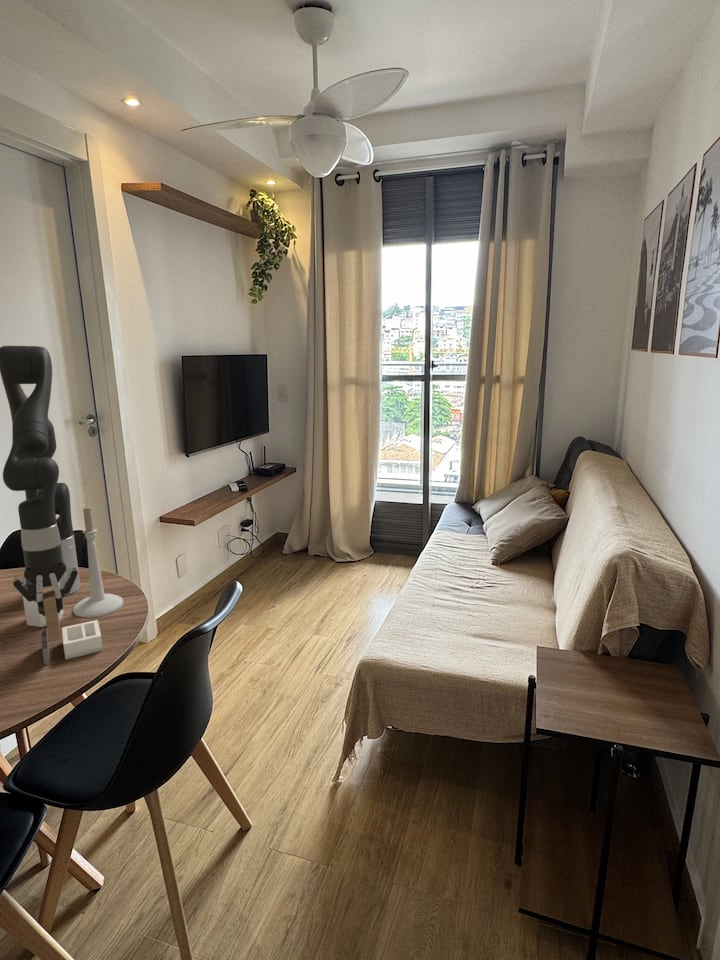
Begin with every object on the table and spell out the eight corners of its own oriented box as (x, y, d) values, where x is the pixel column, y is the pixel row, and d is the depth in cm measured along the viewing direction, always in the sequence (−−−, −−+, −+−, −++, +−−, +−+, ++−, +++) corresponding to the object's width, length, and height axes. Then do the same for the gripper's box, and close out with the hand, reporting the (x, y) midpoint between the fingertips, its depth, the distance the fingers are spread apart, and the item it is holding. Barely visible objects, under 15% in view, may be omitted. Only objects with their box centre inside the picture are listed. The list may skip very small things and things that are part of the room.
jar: (33, 613, 147) (27, 573, 144) (66, 610, 149) (60, 570, 146) (23, 629, 138) (16, 587, 136) (58, 625, 141) (52, 583, 138)
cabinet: (44, 646, 130) (41, 628, 129) (99, 633, 137) (97, 616, 135) (44, 665, 123) (41, 645, 122) (102, 650, 129) (100, 632, 128)
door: (43, 626, 129) (37, 588, 127) (59, 622, 131) (54, 585, 128) (43, 641, 122) (37, 601, 120) (60, 637, 124) (55, 598, 122)
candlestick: (73, 602, 154) (60, 502, 147) (121, 593, 159) (111, 497, 152) (73, 621, 143) (59, 515, 136) (125, 611, 148) (114, 508, 141)
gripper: (74, 534, 128) (83, 600, 132) (6, 544, 121) (17, 613, 125) (76, 543, 122) (85, 612, 126) (4, 554, 115) (16, 627, 119)
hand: (51, 612), depth 125 cm, fingers closed on door, 2 cm apart
